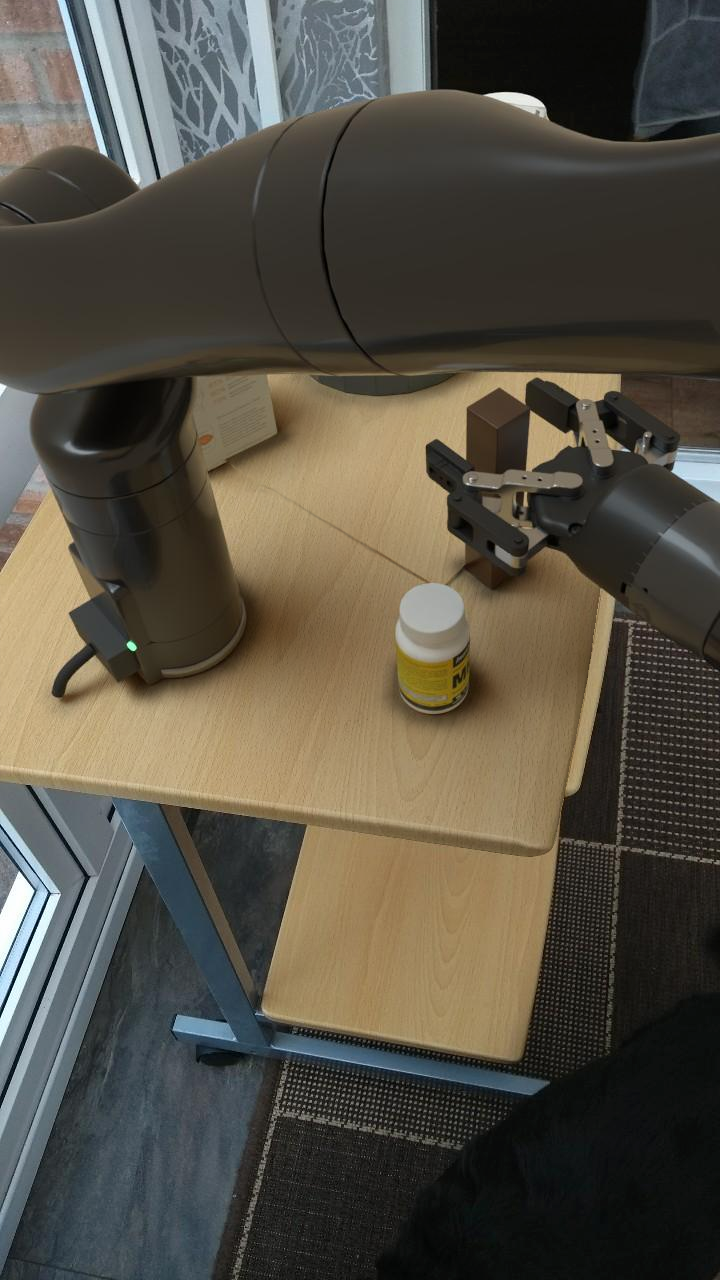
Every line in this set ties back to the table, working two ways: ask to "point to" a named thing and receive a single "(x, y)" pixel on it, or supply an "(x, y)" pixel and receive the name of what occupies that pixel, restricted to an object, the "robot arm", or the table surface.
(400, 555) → the table surface
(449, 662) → the supplement bottle
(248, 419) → the small box
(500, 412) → the stick
